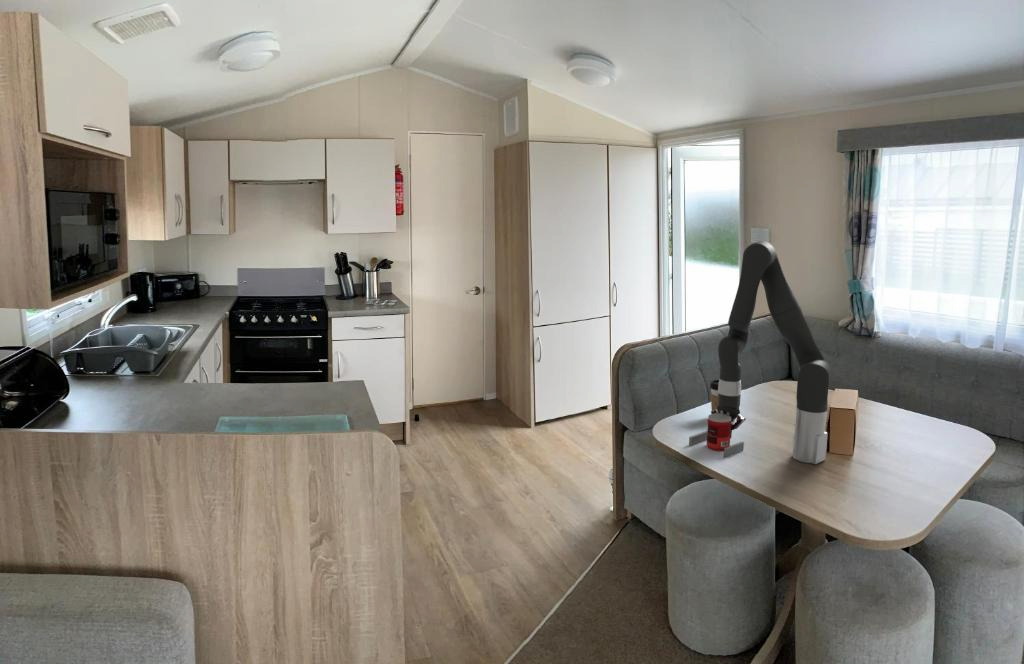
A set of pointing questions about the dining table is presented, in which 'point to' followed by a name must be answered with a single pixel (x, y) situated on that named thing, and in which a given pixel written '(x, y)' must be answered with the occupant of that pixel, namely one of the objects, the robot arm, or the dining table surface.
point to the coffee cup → (714, 394)
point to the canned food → (718, 431)
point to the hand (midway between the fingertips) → (726, 439)
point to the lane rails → (727, 451)
